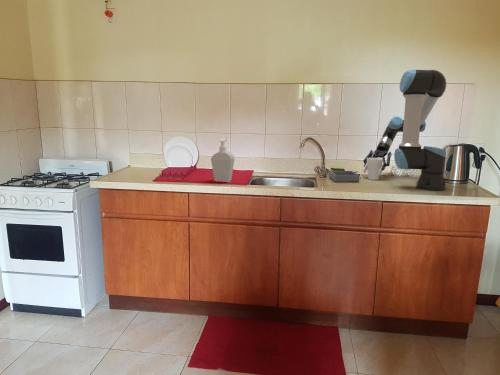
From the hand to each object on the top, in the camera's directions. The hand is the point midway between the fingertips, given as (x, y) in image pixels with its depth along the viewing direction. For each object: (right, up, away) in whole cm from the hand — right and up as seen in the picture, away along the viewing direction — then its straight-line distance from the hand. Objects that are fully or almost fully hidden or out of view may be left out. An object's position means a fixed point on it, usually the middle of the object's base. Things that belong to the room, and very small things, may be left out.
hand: (371, 172), depth 238 cm
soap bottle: (-93, -6, -7) cm, 93 cm away
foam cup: (+2, -4, +3) cm, 6 cm away
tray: (-18, -5, -1) cm, 18 cm away
